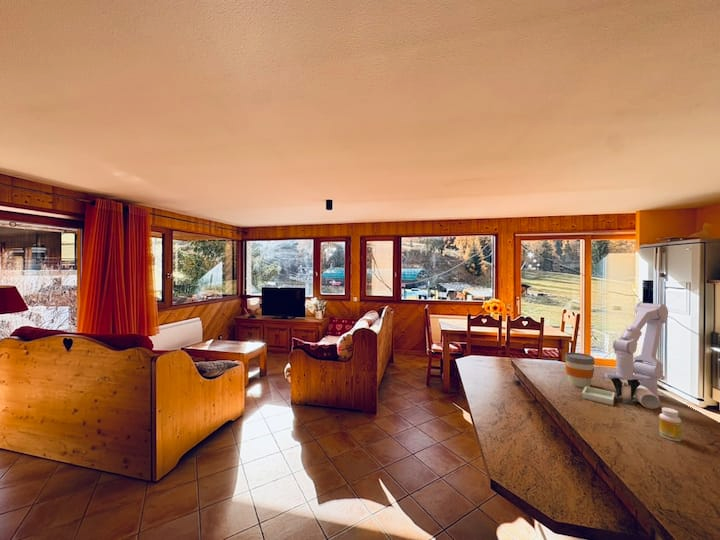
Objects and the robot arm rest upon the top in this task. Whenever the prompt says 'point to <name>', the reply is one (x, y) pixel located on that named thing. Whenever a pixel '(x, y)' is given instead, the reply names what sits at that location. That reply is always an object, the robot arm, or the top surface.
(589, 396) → the tray
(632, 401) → the collar
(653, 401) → the can
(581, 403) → the top surface
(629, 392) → the peg
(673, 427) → the supplement bottle
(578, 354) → the reusable coffee cup
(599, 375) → the top surface
